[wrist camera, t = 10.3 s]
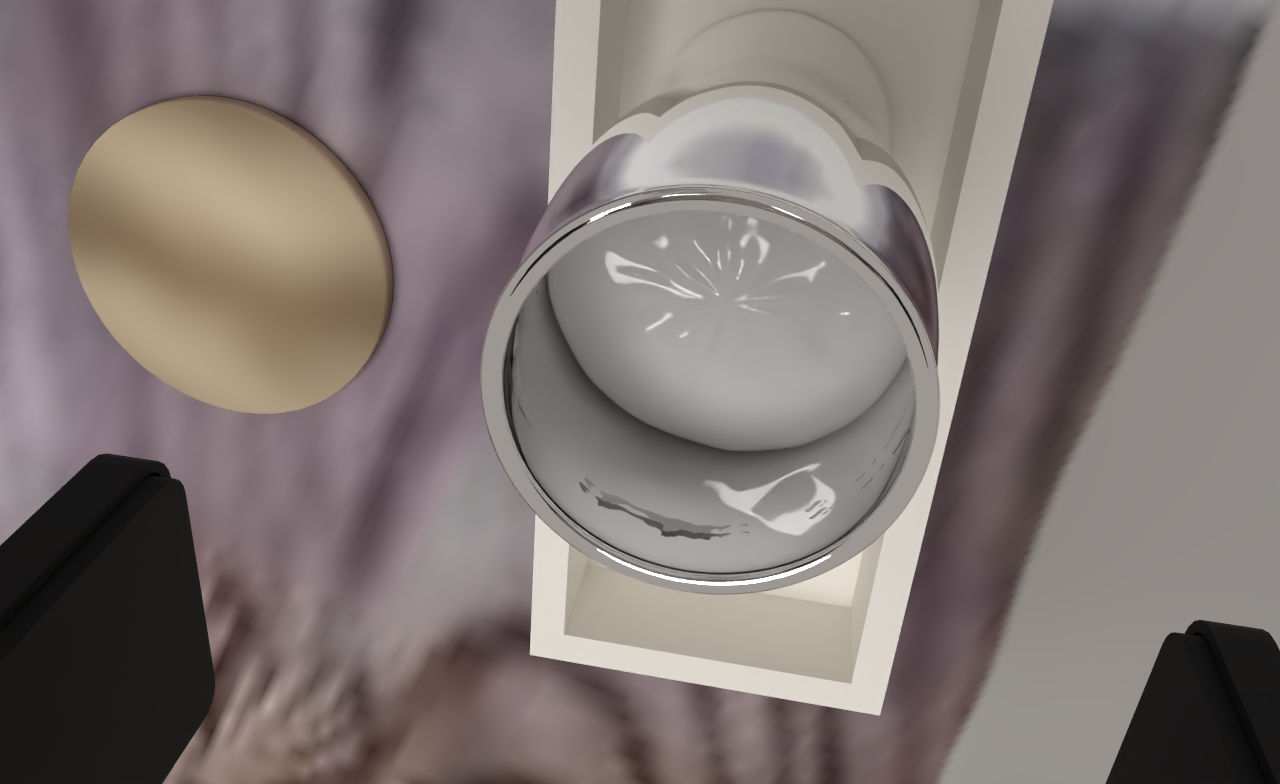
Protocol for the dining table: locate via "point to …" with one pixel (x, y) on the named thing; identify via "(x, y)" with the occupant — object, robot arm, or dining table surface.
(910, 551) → the cream divided tray
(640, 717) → the dining table surface
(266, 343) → the cork trivet
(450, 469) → the dining table surface
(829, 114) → the beer glass
